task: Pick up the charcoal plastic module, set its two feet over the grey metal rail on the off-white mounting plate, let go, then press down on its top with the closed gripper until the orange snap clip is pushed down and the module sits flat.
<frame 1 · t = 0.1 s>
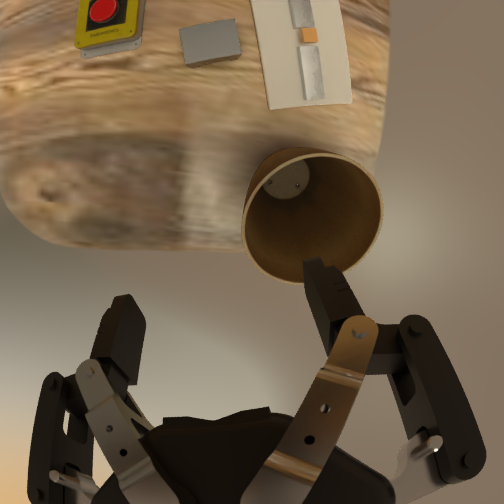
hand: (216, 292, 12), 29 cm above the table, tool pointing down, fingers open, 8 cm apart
emergency button: (115, 9, 22), on the table
plant pot: (283, 173, 40), on the table
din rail: (305, 37, 27), on the mounting plate, point 1 cm above the table
mounting plate: (301, 38, 28), on the table
module: (211, 48, 28), on the table
snap clip: (308, 35, 25), point 3 cm above the table, slide at 0.8 cm
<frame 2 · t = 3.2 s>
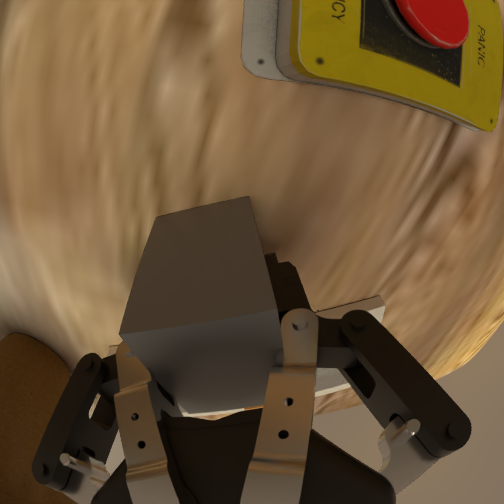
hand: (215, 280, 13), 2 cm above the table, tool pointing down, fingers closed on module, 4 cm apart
emergency button: (395, 21, 8), on the table
plant pot: (37, 354, 19), on the table
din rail: (256, 390, 20), on the mounting plate, point 1 cm above the table
mounting plate: (253, 372, 21), on the table
module: (216, 257, 14), on the table, touching gripper
snap clip: (258, 404, 19), point 3 cm above the table, slide at 0.8 cm
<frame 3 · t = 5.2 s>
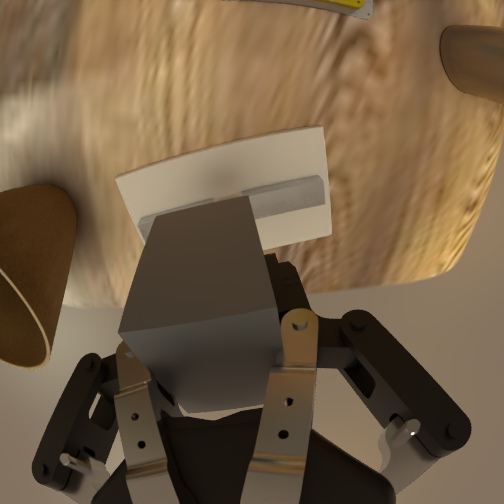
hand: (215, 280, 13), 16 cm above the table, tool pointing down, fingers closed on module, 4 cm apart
plant pot: (53, 210, 25), on the table
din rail: (230, 209, 26), on the mounting plate, point 1 cm above the table
mounting plate: (229, 201, 27), on the table
module: (215, 256, 14), point 14 cm above the table, touching gripper
when the fingers open (4 cm above the table, at t = 7.4 s): module stays where it is, resting on snap clip.
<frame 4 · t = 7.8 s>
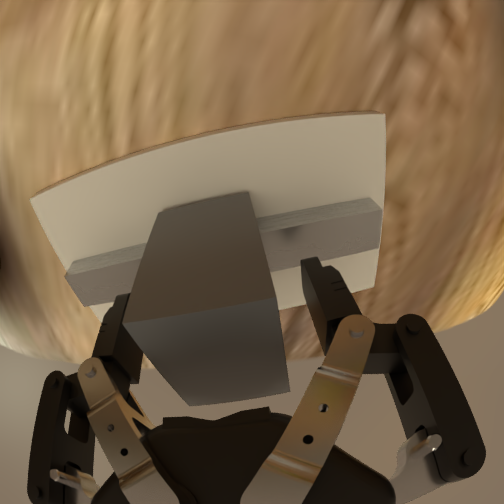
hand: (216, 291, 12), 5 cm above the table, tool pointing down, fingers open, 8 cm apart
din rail: (215, 255, 15), on the mounting plate, point 1 cm above the table
mounting plate: (215, 237, 16), on the table
module: (216, 252, 15), point 2 cm above the table, touching snap clip
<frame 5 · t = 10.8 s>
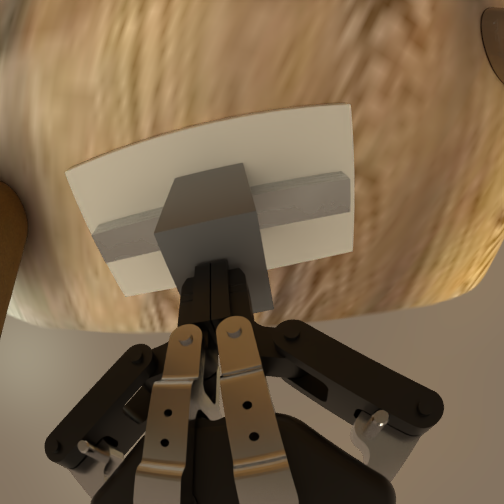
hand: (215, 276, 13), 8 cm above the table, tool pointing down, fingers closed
plant pot: (3, 213, 17), on the table
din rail: (217, 215, 18), on the mounting plate, point 1 cm above the table
mounting plate: (217, 204, 20), on the table
module: (218, 210, 19), point 1 cm above the table, touching gripper, snap clip
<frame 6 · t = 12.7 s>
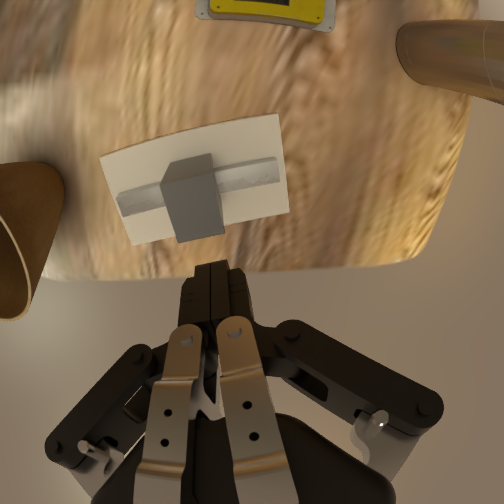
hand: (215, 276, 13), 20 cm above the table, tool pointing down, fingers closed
plant pot: (44, 187, 27), on the table
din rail: (195, 185, 29), on the mounting plate, point 1 cm above the table
mounting plate: (196, 180, 30), on the table
module: (196, 182, 30), point 1 cm above the table, touching mounting plate
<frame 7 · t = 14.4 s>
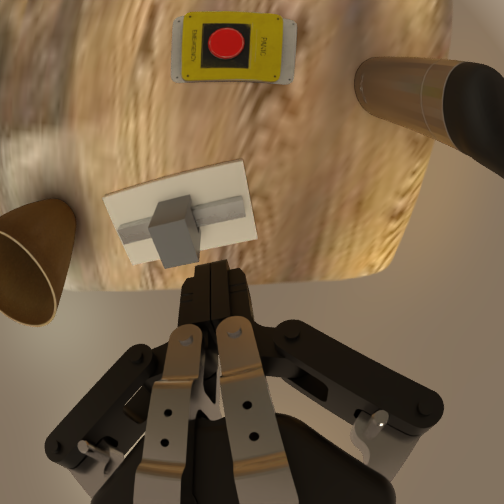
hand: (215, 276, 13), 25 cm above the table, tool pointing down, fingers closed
emergency button: (233, 48, 27), on the table
plant pot: (58, 217, 35), on the table
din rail: (179, 220, 37), on the mounting plate, point 1 cm above the table
mounting plate: (180, 214, 38), on the table
module: (180, 217, 37), point 1 cm above the table, touching mounting plate
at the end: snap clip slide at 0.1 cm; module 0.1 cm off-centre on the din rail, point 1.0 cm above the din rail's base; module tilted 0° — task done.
